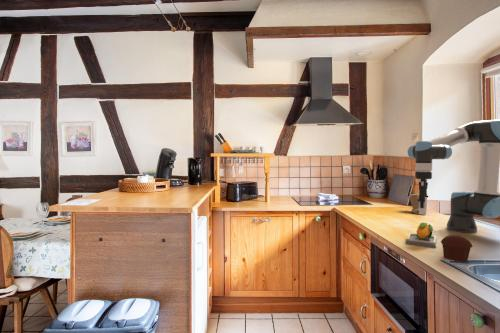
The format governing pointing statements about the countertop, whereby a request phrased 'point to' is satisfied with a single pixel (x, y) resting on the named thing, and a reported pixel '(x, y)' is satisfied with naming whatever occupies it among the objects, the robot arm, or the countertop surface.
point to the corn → (424, 231)
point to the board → (421, 240)
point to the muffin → (456, 248)
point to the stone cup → (415, 203)
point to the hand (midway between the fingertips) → (422, 212)
